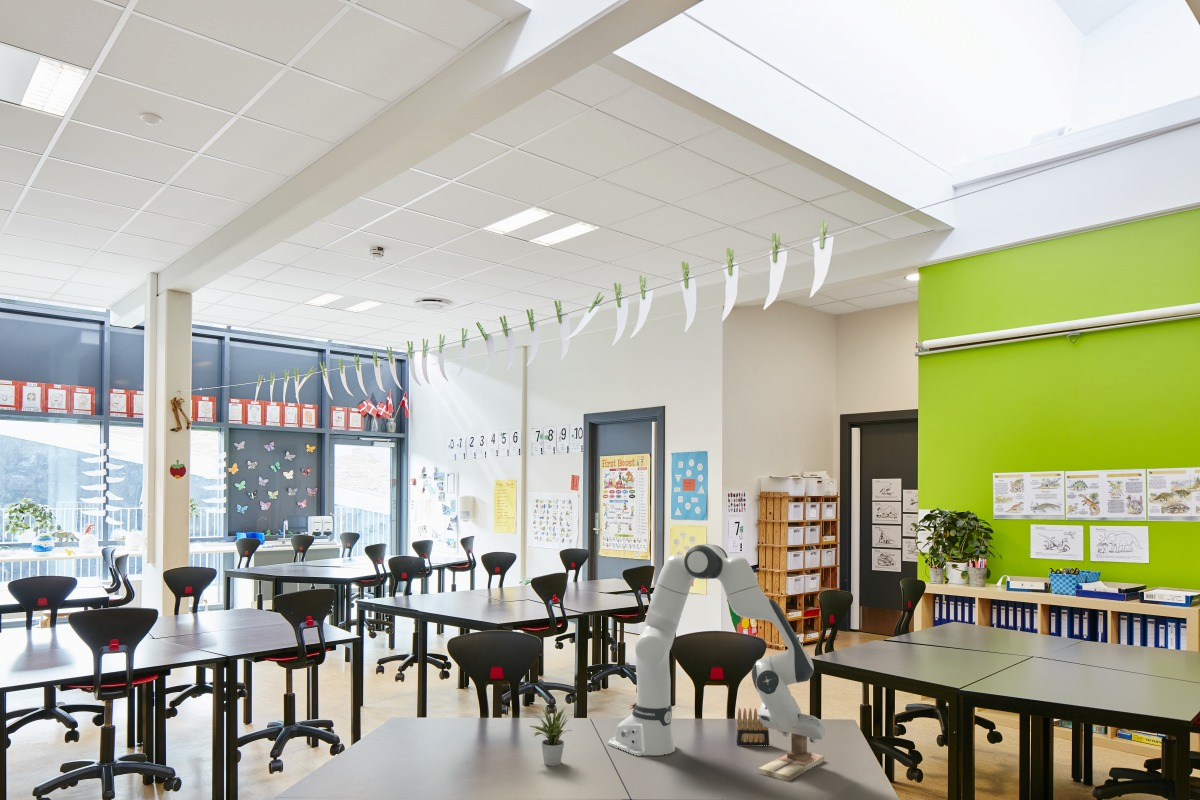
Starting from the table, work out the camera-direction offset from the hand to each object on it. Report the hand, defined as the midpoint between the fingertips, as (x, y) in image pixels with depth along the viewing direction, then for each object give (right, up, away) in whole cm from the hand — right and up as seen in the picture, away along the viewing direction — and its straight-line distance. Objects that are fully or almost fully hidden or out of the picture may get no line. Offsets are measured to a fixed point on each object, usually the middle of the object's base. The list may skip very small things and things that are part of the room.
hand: (800, 737), depth 264 cm
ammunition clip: (-12, -9, +16) cm, 22 cm away
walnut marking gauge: (0, -6, -1) cm, 6 cm away
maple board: (-4, -7, -5) cm, 9 cm away
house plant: (-78, -6, -3) cm, 78 cm away
